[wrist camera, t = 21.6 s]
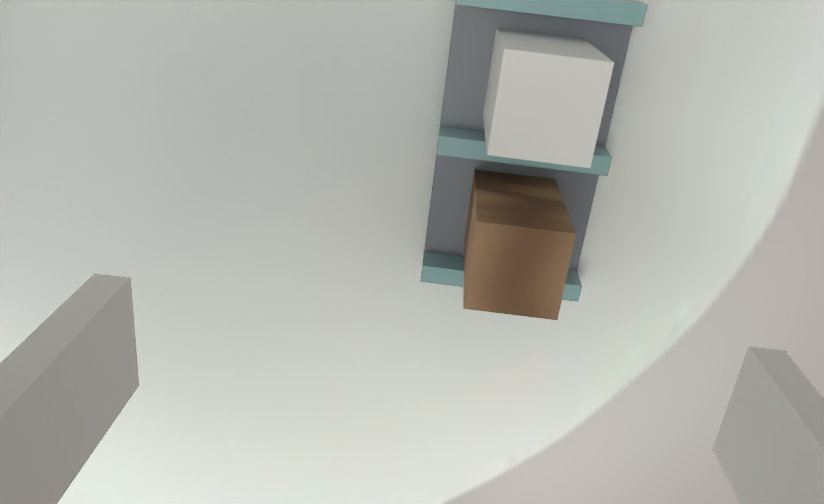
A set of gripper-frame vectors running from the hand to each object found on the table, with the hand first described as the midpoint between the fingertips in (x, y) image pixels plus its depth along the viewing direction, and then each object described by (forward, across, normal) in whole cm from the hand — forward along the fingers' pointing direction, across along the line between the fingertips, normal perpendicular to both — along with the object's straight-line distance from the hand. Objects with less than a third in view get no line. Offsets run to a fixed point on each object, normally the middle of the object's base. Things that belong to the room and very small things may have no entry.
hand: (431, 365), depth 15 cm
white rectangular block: (+25, +4, +2) cm, 25 cm away
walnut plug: (+25, +4, -6) cm, 26 cm away
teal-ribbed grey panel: (+25, +4, -2) cm, 26 cm away
